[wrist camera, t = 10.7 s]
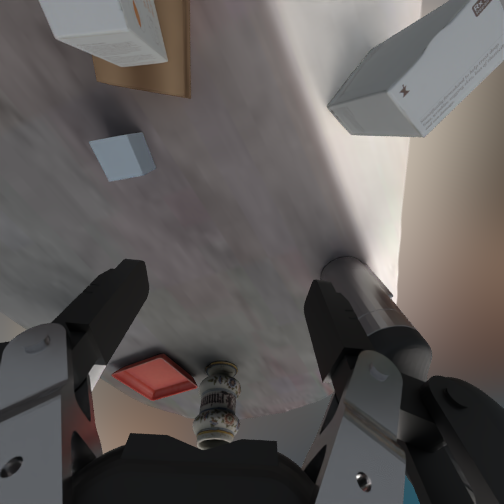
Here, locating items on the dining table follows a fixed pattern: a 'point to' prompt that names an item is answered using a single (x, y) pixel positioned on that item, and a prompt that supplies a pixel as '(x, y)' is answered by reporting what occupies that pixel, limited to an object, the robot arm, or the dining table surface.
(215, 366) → the apothecary jar
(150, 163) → the blue-grey cube
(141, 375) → the plant saucer
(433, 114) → the skincare box
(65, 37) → the small box
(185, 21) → the walnut slab
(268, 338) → the dining table surface
